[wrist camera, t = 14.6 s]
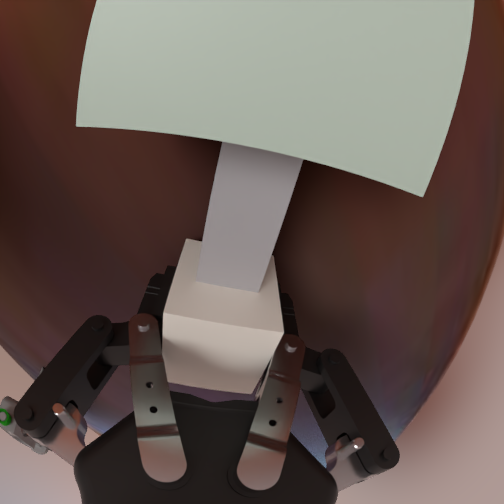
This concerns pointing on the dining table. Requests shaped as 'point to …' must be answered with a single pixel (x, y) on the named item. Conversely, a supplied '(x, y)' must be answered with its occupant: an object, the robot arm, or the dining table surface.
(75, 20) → the dining table surface
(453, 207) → the dining table surface
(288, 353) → the robot arm
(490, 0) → the dining table surface
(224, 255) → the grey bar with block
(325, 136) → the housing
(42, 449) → the mechanical component
